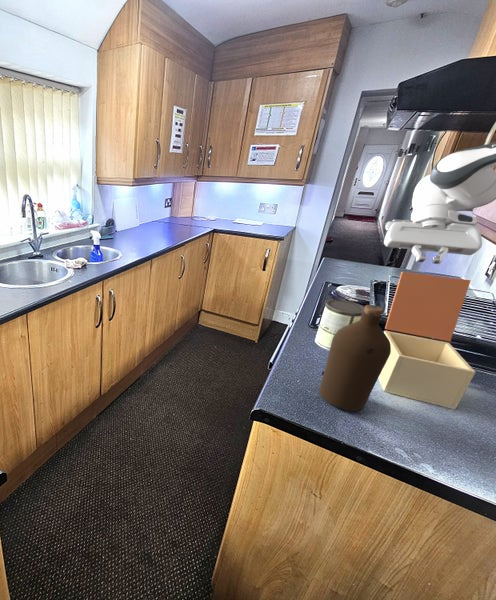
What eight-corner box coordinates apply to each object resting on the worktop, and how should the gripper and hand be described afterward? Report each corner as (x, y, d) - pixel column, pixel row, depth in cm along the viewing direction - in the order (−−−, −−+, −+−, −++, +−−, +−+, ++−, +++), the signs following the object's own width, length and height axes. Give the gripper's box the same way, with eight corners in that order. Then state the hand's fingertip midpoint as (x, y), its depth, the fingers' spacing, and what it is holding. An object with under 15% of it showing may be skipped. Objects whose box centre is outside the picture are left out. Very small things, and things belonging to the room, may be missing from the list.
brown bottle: (379, 410, 77) (420, 316, 67) (340, 416, 76) (376, 320, 66) (341, 382, 87) (372, 296, 77) (306, 387, 85) (333, 299, 75)
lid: (470, 280, 84) (469, 280, 85) (402, 271, 90) (401, 271, 91) (450, 341, 86) (448, 340, 87) (385, 329, 92) (384, 328, 93)
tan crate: (455, 409, 78) (475, 372, 74) (383, 391, 84) (399, 355, 80) (432, 376, 91) (449, 342, 87) (371, 362, 97) (384, 330, 93)
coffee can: (317, 333, 113) (329, 296, 107) (354, 344, 106) (368, 305, 101) (311, 345, 106) (322, 306, 100) (349, 357, 100) (364, 316, 94)
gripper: (390, 212, 98) (386, 250, 94) (485, 218, 89) (486, 261, 85) (382, 225, 104) (378, 262, 100) (471, 232, 95) (470, 273, 91)
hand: (428, 261), depth 92 cm, fingers closed
